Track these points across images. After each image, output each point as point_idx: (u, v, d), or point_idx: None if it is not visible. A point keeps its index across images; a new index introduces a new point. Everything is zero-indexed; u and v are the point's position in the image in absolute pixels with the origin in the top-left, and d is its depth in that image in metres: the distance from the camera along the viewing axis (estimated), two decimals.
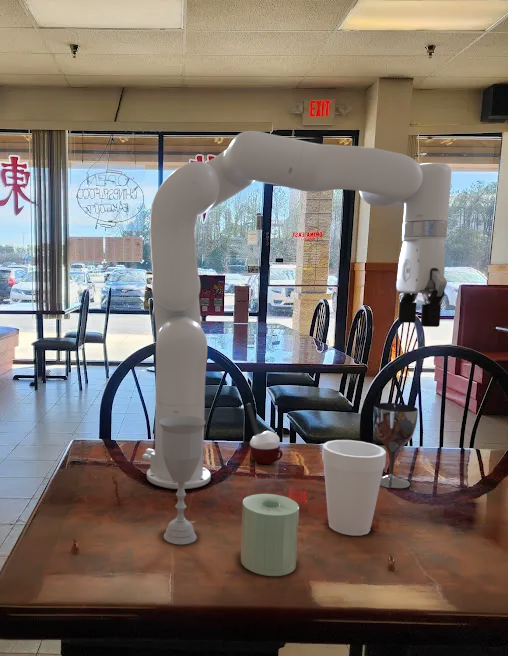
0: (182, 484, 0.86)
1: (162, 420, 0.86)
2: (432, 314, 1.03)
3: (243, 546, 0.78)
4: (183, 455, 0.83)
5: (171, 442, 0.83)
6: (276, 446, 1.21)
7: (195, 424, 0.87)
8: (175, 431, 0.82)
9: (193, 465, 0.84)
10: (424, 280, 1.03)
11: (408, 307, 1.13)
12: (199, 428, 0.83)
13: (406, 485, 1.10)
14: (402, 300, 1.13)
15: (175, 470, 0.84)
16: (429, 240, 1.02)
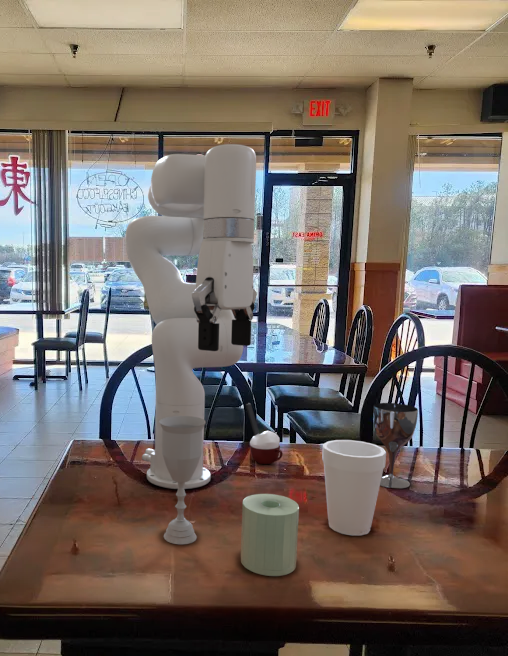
0: (182, 484, 0.86)
1: (162, 420, 0.86)
2: (204, 335, 0.82)
3: (243, 546, 0.78)
4: (183, 455, 0.83)
5: (171, 442, 0.83)
6: (276, 446, 1.21)
7: (195, 424, 0.87)
8: (175, 431, 0.82)
9: (193, 465, 0.84)
10: None
11: (239, 326, 0.90)
12: (199, 428, 0.83)
13: (406, 485, 1.10)
14: (235, 317, 0.91)
15: (175, 470, 0.84)
16: (206, 243, 0.82)
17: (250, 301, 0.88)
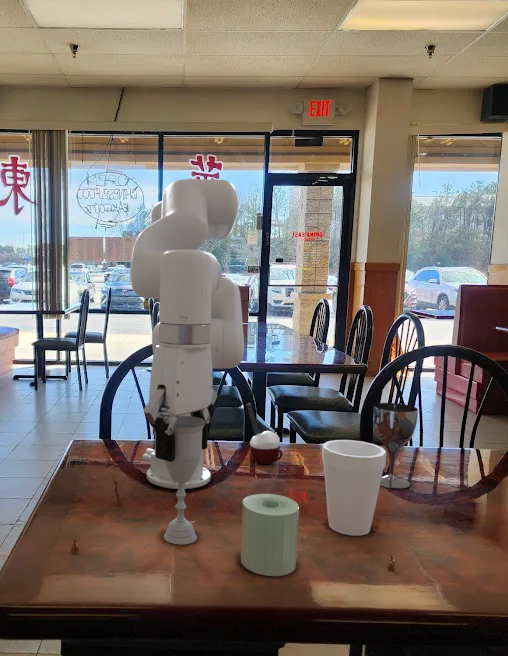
0: (182, 484, 0.86)
1: None
2: (160, 445, 0.81)
3: (243, 546, 0.78)
4: (183, 455, 0.83)
5: None
6: (276, 446, 1.21)
7: (195, 424, 0.87)
8: (175, 431, 0.82)
9: (193, 465, 0.84)
10: (152, 398, 0.82)
11: None
12: (199, 428, 0.83)
13: (406, 485, 1.10)
14: None
15: (175, 470, 0.84)
16: (159, 349, 0.81)
17: (209, 401, 0.86)
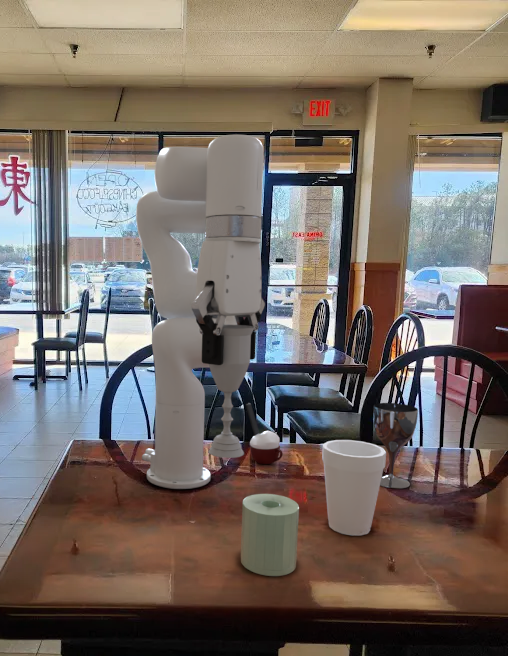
0: (229, 394, 0.80)
1: None
2: (207, 347, 0.76)
3: (243, 546, 0.78)
4: (232, 360, 0.77)
5: None
6: (276, 446, 1.21)
7: None
8: (223, 333, 0.76)
9: (241, 372, 0.78)
10: None
11: None
12: (249, 331, 0.77)
13: (406, 485, 1.10)
14: None
15: (222, 377, 0.78)
16: (206, 243, 0.75)
17: (257, 306, 0.80)
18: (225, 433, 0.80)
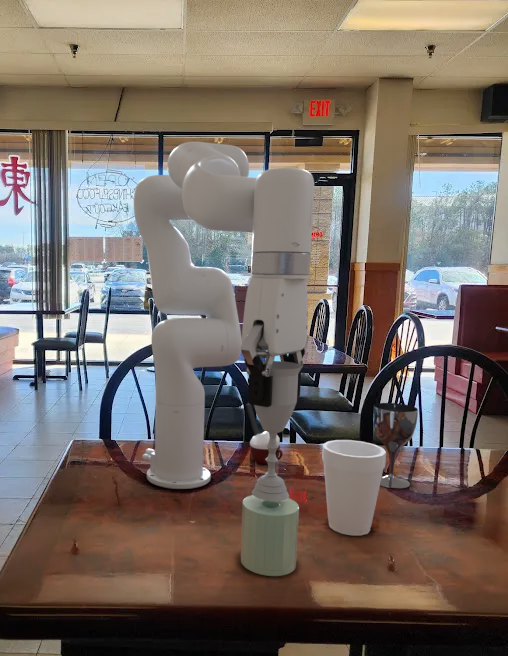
0: (274, 435, 0.77)
1: None
2: (255, 389, 0.73)
3: (243, 546, 0.78)
4: (280, 401, 0.74)
5: None
6: None
7: None
8: (271, 374, 0.74)
9: (289, 413, 0.75)
10: (246, 336, 0.73)
11: None
12: (297, 371, 0.74)
13: (406, 485, 1.10)
14: None
15: (269, 418, 0.75)
16: (255, 280, 0.72)
17: (304, 343, 0.78)
18: (270, 474, 0.78)
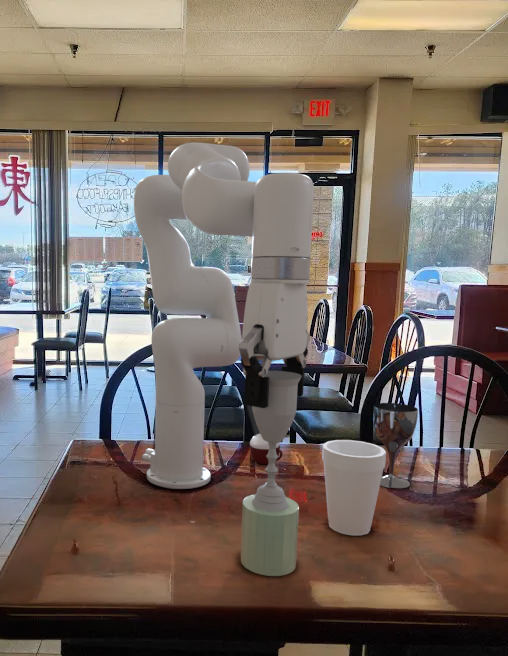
0: (274, 445, 0.77)
1: None
2: (251, 389, 0.72)
3: (243, 546, 0.78)
4: (279, 411, 0.74)
5: None
6: (276, 446, 1.21)
7: (286, 380, 0.79)
8: (270, 384, 0.74)
9: (289, 423, 0.75)
10: None
11: None
12: (296, 381, 0.74)
13: (406, 485, 1.10)
14: (286, 363, 0.81)
15: (269, 428, 0.75)
16: (255, 285, 0.72)
17: (303, 348, 0.78)
18: (270, 484, 0.78)
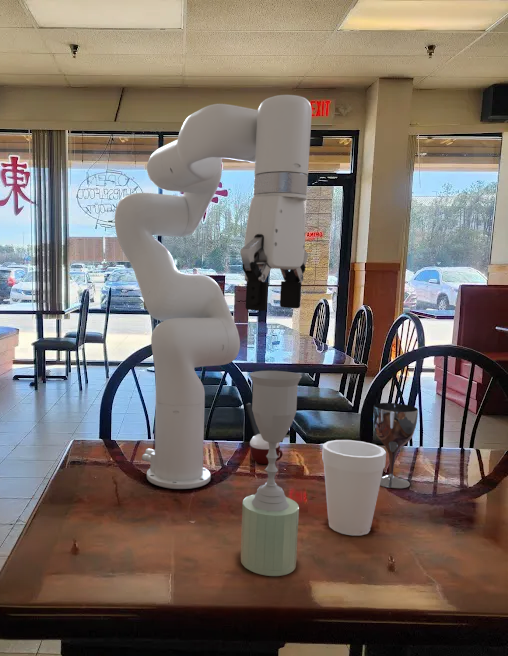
0: (274, 445, 0.77)
1: (251, 374, 0.78)
2: (252, 294, 0.80)
3: (243, 546, 0.78)
4: (279, 411, 0.74)
5: (265, 396, 0.74)
6: (276, 446, 1.21)
7: (286, 380, 0.79)
8: (270, 384, 0.74)
9: (289, 423, 0.75)
10: None
11: (289, 288, 0.87)
12: (296, 381, 0.74)
13: (406, 485, 1.10)
14: (285, 279, 0.88)
15: (269, 428, 0.75)
16: (256, 198, 0.79)
17: (301, 261, 0.85)
18: (270, 484, 0.78)
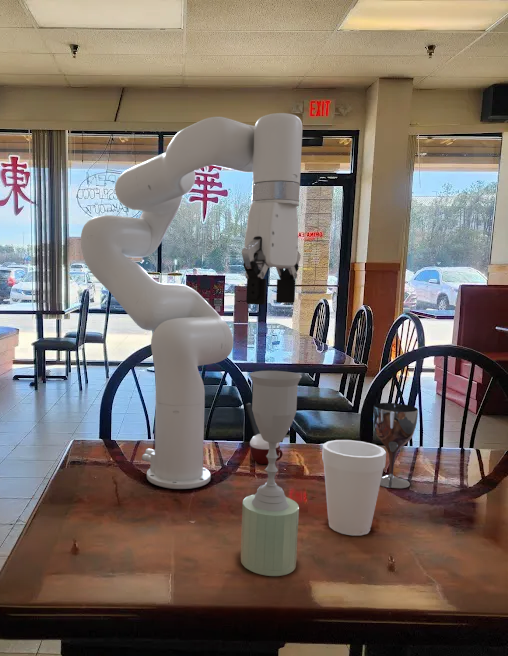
0: (274, 445, 0.77)
1: (251, 374, 0.78)
2: (252, 289, 0.89)
3: (243, 546, 0.78)
4: (279, 411, 0.74)
5: (265, 396, 0.74)
6: (276, 446, 1.21)
7: (286, 380, 0.79)
8: (270, 384, 0.74)
9: (289, 423, 0.75)
10: None
11: (284, 285, 0.97)
12: (296, 381, 0.74)
13: (406, 485, 1.10)
14: (280, 277, 0.98)
15: (269, 428, 0.75)
16: (254, 205, 0.89)
17: (295, 261, 0.95)
18: (270, 484, 0.78)
